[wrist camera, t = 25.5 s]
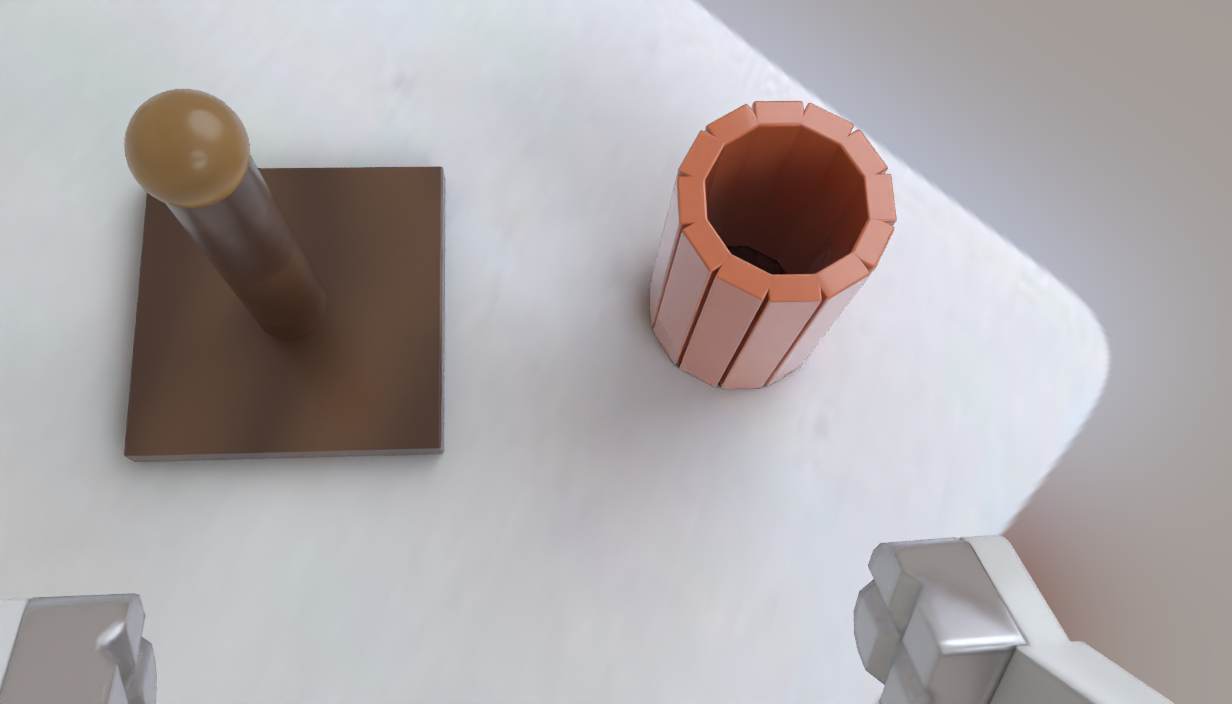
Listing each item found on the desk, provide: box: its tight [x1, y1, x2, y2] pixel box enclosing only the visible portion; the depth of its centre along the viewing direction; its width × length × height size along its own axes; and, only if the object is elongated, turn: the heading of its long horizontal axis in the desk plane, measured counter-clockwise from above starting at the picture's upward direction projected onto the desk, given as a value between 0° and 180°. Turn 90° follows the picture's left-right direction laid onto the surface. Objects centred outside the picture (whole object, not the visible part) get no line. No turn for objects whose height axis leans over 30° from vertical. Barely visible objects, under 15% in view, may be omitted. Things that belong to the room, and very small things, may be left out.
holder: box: [124, 89, 445, 462], centre depth 32 cm, size 10×10×14 cm
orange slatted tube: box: [649, 101, 897, 389], centre depth 35 cm, size 6×6×9 cm
